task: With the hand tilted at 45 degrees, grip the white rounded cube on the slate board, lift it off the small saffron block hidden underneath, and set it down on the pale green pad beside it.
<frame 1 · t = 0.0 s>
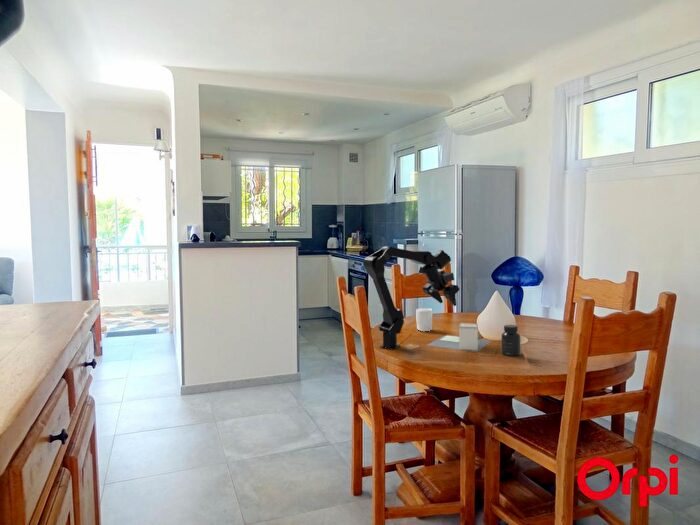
hand: (448, 304, 214), 15 cm above the table, tool tilted 35°, fingers open, 9 cm apart
supplement bottle: (510, 357, 182), on the table
white rounded cube: (468, 347, 193), point 1 cm above the table, touching board
white cup: (424, 330, 230), on the table
board: (459, 345, 200), on the table
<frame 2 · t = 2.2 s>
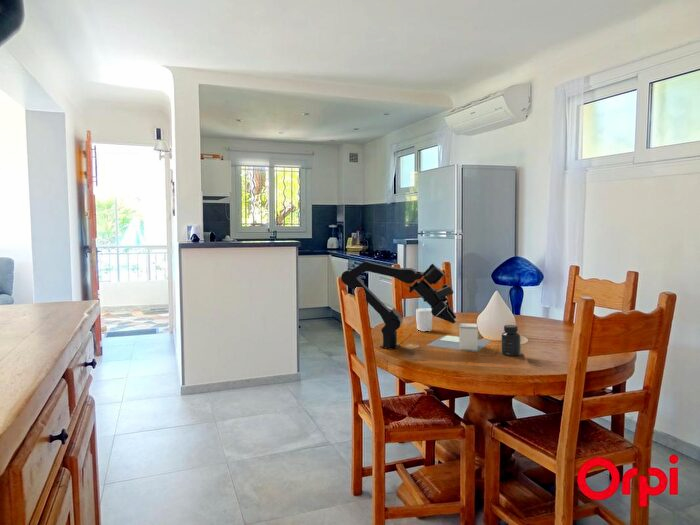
hand: (455, 320, 193), 12 cm above the table, tool tilted 45°, fingers open, 9 cm apart
nothing on the table moved.
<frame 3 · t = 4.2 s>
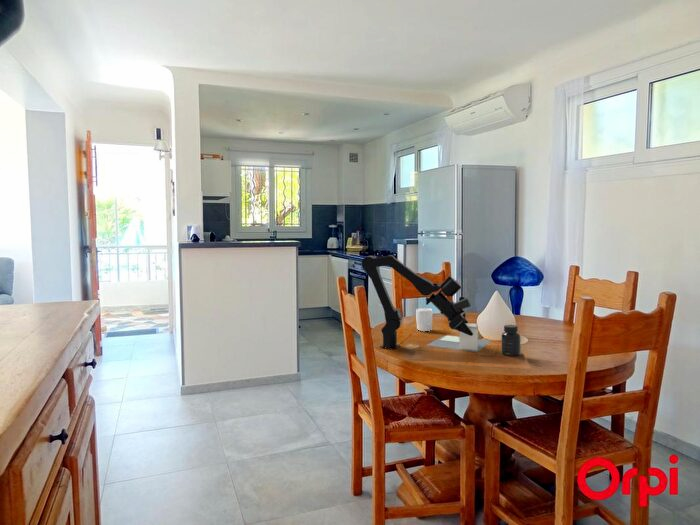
hand: (472, 332, 192), 7 cm above the table, tool tilted 45°, fingers closed on white rounded cube, 7 cm apart
white rounded cube: (468, 347, 193), point 1 cm above the table, touching board, gripper
everything else where it was.
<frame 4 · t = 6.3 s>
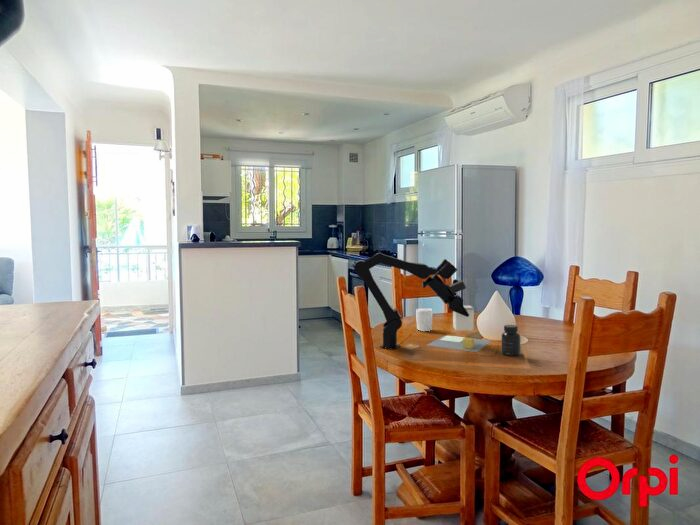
hand: (466, 314, 198), 13 cm above the table, tool tilted 45°, fingers closed on white rounded cube, 7 cm apart
white rounded cube: (463, 328, 198), point 7 cm above the table, touching gripper
everything else where it was.
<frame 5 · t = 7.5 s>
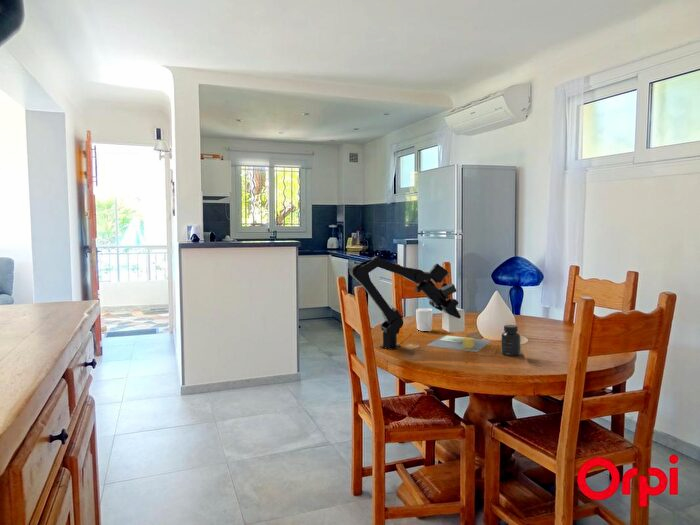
hand: (456, 316, 206), 11 cm above the table, tool tilted 45°, fingers closed on white rounded cube, 7 cm apart
white rounded cube: (453, 329, 206), point 5 cm above the table, touching gripper
everything else where it was.
when the fingers open (9 cm above the table, at t = 8.6 s): white rounded cube drops 1 cm, resting on board.
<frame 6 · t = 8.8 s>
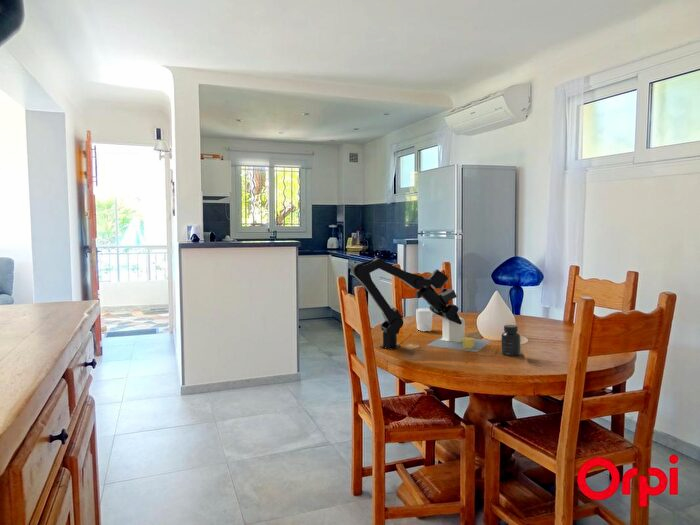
hand: (456, 321, 206), 9 cm above the table, tool tilted 45°, fingers open, 9 cm apart
white rounded cube: (453, 338, 206), point 1 cm above the table, touching board
everything else where it was.
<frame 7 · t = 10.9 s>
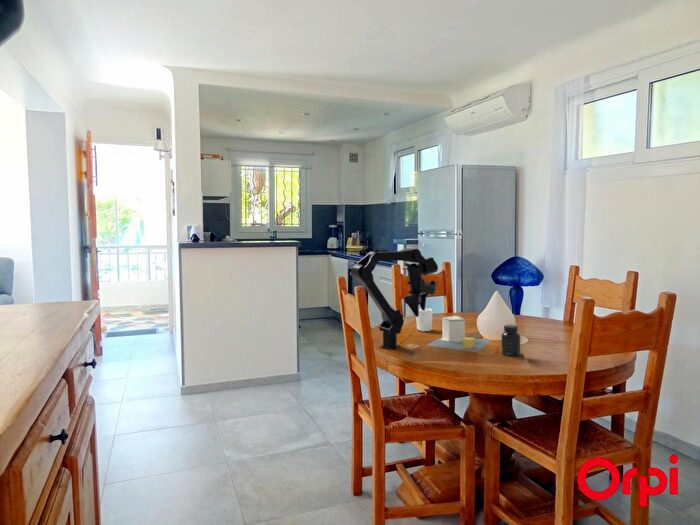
hand: (420, 313, 206), 13 cm above the table, tool pointing down, fingers open, 9 cm apart
nothing on the table moved.
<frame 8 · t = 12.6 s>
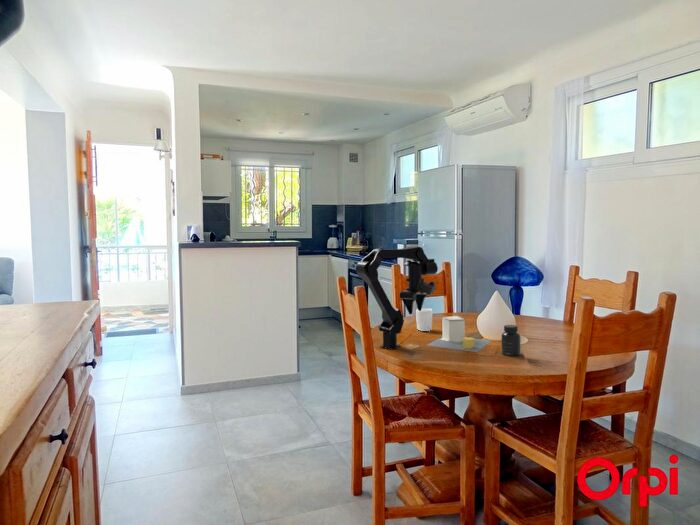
hand: (415, 312, 206), 13 cm above the table, tool pointing down, fingers open, 9 cm apart
nothing on the table moved.
at the end: white rounded cube inside the target area (0.0 cm from its centre), point 1.4 cm above the table; white rounded cube tilted 0°; the gripper is holding nothing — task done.
